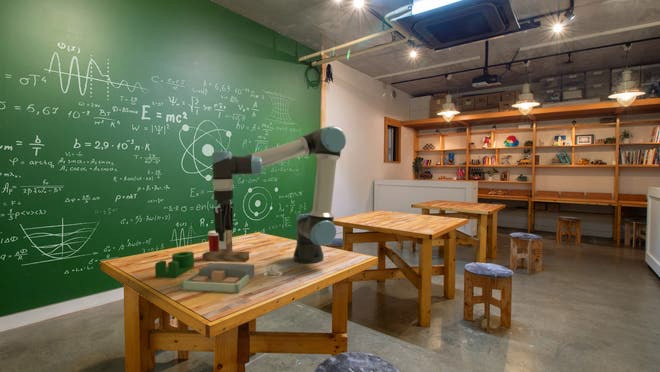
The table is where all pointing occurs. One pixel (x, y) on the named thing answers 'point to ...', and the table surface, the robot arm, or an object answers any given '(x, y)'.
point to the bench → (228, 270)
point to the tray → (213, 285)
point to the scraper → (226, 252)
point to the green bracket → (175, 265)
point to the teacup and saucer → (272, 271)
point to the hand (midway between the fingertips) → (225, 247)
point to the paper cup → (213, 241)
